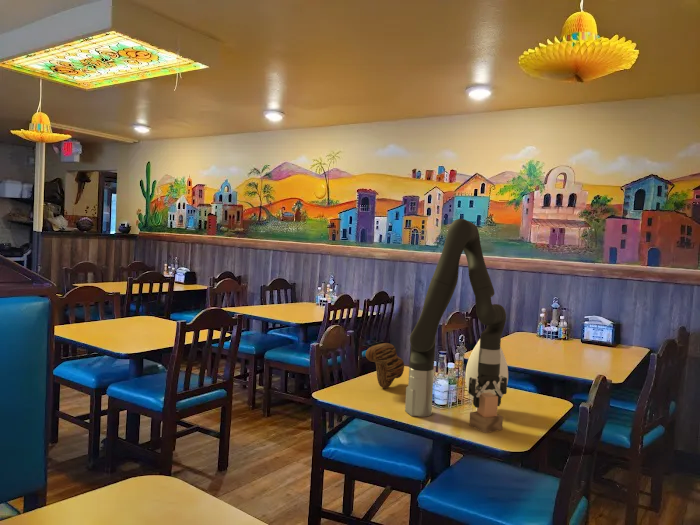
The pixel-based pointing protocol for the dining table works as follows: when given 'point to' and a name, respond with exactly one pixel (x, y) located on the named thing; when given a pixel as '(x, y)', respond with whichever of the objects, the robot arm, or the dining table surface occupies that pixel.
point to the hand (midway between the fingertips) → (486, 406)
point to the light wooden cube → (488, 404)
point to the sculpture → (385, 363)
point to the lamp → (473, 368)
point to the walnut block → (485, 422)
